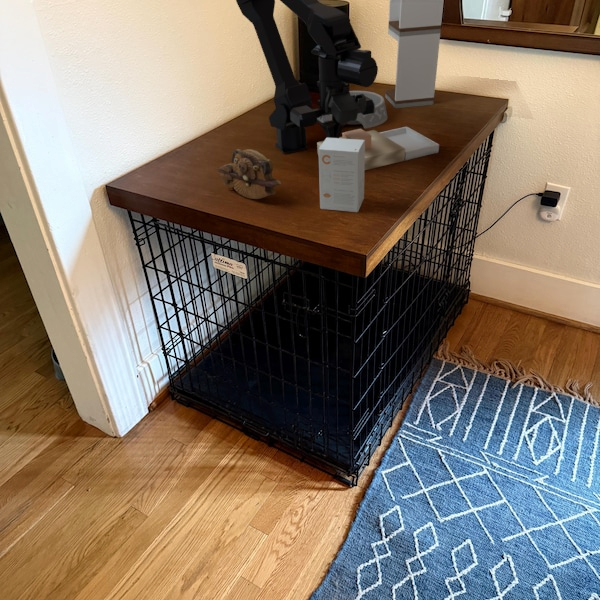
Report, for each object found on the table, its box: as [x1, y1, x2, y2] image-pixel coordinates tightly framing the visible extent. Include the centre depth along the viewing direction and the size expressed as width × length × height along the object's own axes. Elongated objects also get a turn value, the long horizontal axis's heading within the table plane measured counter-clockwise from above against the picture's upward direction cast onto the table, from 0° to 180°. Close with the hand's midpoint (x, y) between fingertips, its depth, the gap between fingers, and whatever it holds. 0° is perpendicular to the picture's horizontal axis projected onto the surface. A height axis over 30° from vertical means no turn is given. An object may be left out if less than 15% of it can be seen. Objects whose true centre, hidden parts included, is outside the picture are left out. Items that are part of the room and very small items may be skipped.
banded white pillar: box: [384, 0, 444, 109], centre depth 156 cm, size 11×11×35 cm
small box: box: [318, 137, 365, 213], centre depth 113 cm, size 8×6×13 cm
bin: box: [379, 126, 440, 161], centre depth 139 cm, size 9×14×2 cm
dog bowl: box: [345, 90, 388, 129], centre depth 156 cm, size 17×18×5 cm
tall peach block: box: [341, 128, 371, 149], centre depth 132 cm, size 5×5×3 cm
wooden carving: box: [217, 148, 282, 200], centre depth 119 cm, size 16×5×10 cm, turn 55°
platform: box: [316, 129, 405, 171], centre depth 134 cm, size 16×14×3 cm
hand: (333, 147), depth 131 cm, fingers closed
